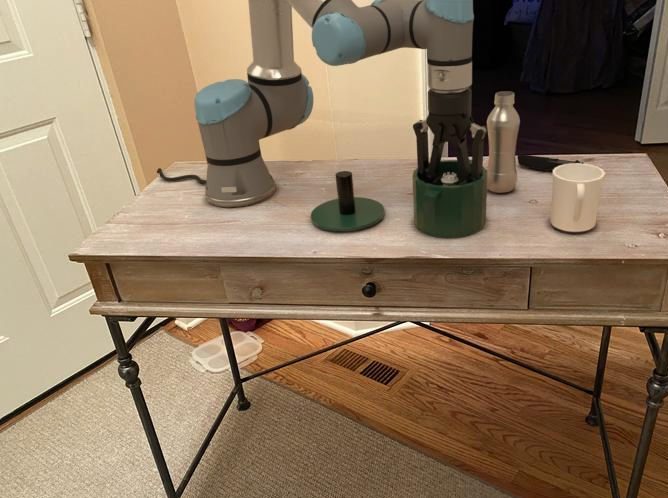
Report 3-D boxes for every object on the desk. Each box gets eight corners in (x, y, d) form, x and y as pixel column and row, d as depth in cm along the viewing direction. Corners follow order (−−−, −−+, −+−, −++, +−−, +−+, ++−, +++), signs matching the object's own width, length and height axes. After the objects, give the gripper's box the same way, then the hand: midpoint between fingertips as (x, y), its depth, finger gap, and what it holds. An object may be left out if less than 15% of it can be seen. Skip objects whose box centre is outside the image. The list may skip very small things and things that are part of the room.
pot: (396, 237, 114) (393, 187, 108) (437, 198, 127) (436, 152, 122) (464, 250, 108) (465, 197, 102) (500, 208, 122) (502, 159, 116)
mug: (546, 214, 118) (551, 163, 112) (594, 215, 116) (601, 163, 111) (549, 240, 109) (554, 186, 103) (601, 241, 107) (609, 186, 102)
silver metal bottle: (523, 190, 128) (529, 93, 117) (498, 199, 125) (502, 100, 114) (502, 181, 133) (506, 87, 122) (478, 189, 130) (480, 94, 119)
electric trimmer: (520, 164, 142) (521, 150, 140) (587, 172, 134) (589, 158, 132) (514, 169, 139) (514, 156, 137) (582, 178, 132) (583, 164, 130)
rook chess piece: (438, 209, 119) (437, 170, 114) (461, 209, 118) (461, 170, 114) (437, 219, 115) (437, 179, 111) (461, 219, 115) (461, 179, 110)
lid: (296, 226, 120) (290, 182, 115) (336, 198, 131) (331, 156, 126) (361, 239, 114) (357, 193, 109) (397, 208, 125) (395, 165, 120)
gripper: (394, 90, 105) (400, 214, 118) (491, 97, 98) (486, 228, 110) (412, 79, 110) (416, 199, 123) (506, 85, 103) (499, 212, 116)
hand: (449, 212), depth 117 cm, fingers closed on rook chess piece, 4 cm apart
